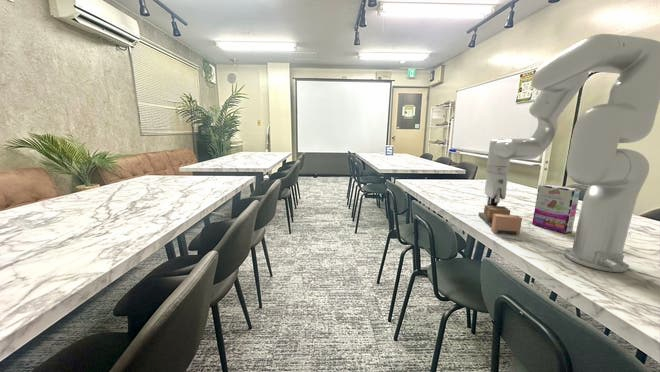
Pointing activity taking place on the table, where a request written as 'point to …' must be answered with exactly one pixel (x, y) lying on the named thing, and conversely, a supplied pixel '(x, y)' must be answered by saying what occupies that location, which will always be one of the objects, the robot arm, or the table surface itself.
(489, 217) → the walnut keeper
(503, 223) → the block
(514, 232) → the metal rail
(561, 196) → the candy bar box
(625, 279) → the table surface
